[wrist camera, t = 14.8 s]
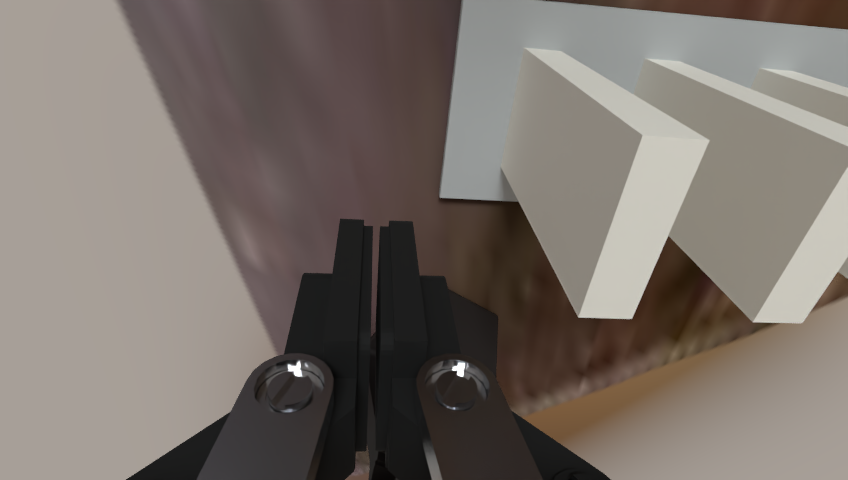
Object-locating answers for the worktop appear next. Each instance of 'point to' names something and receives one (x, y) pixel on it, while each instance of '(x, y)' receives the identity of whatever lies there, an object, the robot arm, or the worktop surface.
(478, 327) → the phone stand
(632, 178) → the domino
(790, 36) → the mat
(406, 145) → the worktop surface
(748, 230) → the domino
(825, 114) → the domino
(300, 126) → the worktop surface
